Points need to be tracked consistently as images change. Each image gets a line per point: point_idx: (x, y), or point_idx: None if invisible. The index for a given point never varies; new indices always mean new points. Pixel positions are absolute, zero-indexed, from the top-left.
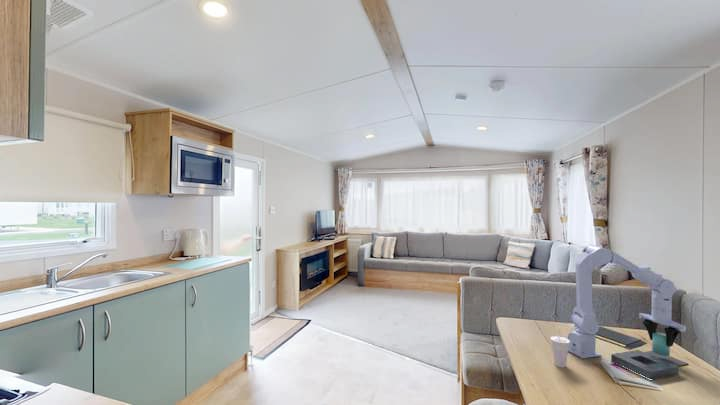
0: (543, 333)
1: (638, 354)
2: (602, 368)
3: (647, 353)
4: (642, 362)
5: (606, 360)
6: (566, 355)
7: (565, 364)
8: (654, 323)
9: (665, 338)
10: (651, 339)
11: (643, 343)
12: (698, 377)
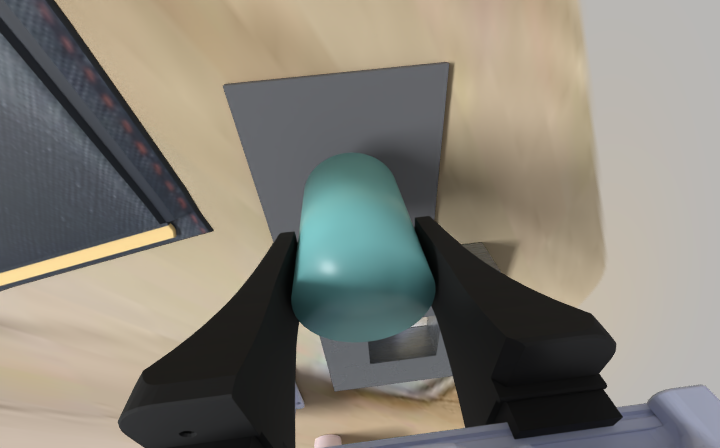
0: (76, 412)
1: None
2: (364, 392)
3: (278, 191)
4: None
5: (320, 364)
6: None
7: (340, 444)
8: (269, 413)
9: (422, 307)
10: None
11: (57, 29)
12: (539, 179)
